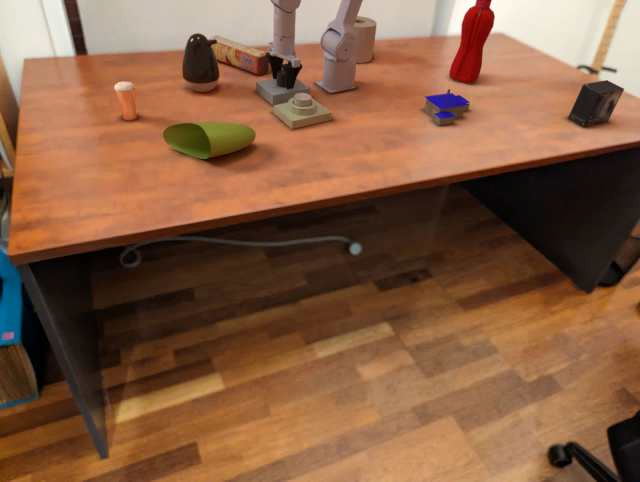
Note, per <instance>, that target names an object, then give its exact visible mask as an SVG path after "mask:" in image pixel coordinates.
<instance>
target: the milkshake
mask: <svg viewBox="0 0 640 482" xmlns="http://www.w3.org/2000/svg"><path fill="white" fill-rule="evenodd" d="M113 87H114V88H113V89H114V91H115V94H116V97H117V100H118V104H119V108H120V111H121V114H122V115H121V116H122V118H123V120H126V121H134V120H136V119H137V118H138V116H137V106H136V93H135V92H136V91H135V84H134V83H132V74H129V78H128V81H124V80H123V81H118V82H117V83H115V84H114V86H113Z"/></svg>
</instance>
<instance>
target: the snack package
mask: <svg viewBox="0 0 640 482" xmlns="http://www.w3.org/2000/svg"><path fill="white" fill-rule="evenodd" d="M214 39H216V40H217V43H216V44H213V45H211V46H212V48H213V50H214V53H215V56H216V59H217V61H219V62H222V63H224V64H227V65H231V66H232V67H233V66H234V67H236V68H239V69H241V70H244V71H247V72H250V73H252V74H254V75H257V76H261V75H263V74H265V73H267V72H268V71H269V68H270V64H269V61H268V59H267V57H266V53H267V52H266V51H264V50H260V49H258V48H257V49H256V48H254V47H252V46H249V45H246V44H242V43H240V42H237V41H234V40H231V39H229V38H225V37H223V36H221V35H213V36H211V37H210V38H209V39H208V40H214Z"/></svg>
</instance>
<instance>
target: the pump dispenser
mask: <svg viewBox="0 0 640 482" xmlns="http://www.w3.org/2000/svg"><path fill="white" fill-rule="evenodd" d="M216 43H217V40H216V39H214V40H209V39H208V38H207V36H206V35H204V34H202V33H197V32H196V33H193V34H191V35H190V36H189V38H187V41H186V44H185V46H184V51H183V56H182V63H181V64H182V66H181V67H182V68H181V71H182V72H181V73H182V78H183V80H184V82H185V84H186V85H187V87H188V88H189V89H191V90H192V91H195V92H198V93H206V92H210V91H212V90H214V89H215V88H216V87H217V85H218V84H219V83H218V82H219V79H220V74H221V73H220V67H219V62H218V60H217V59H216V56H215V53H214V50H213V48H212V46H211V45H213V44H216Z"/></svg>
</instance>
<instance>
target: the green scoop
mask: <svg viewBox="0 0 640 482" xmlns="http://www.w3.org/2000/svg"><path fill="white" fill-rule="evenodd" d="M162 137H163V140H164V142H165V143H166V144H167V145H168V146H169V147H171V148H173V149H174V150H176V151H178V152H181V153H183V154H185V155H188V156H190V157H193V158H197V159H200V160H207V159H211V158H216V157H220V156H225V155H228V154H232V153H235V152H238V151H240V150H243V149H245V148H247V147H248V146H250V145H252V143H254V141H255V140H256V137H257V134H256V131H255V130H254V129H253V128H252V127H251V126H248V125H246V124H240V123H235V122H224V121H223V122H219V121H217V122H214V121H212V122H211V121H209V122H208V121H207V122H182V123H181V122H180V123H176V124H172V125H170V126H167V127H166V128H165V129H164V130H163V133H162Z"/></svg>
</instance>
